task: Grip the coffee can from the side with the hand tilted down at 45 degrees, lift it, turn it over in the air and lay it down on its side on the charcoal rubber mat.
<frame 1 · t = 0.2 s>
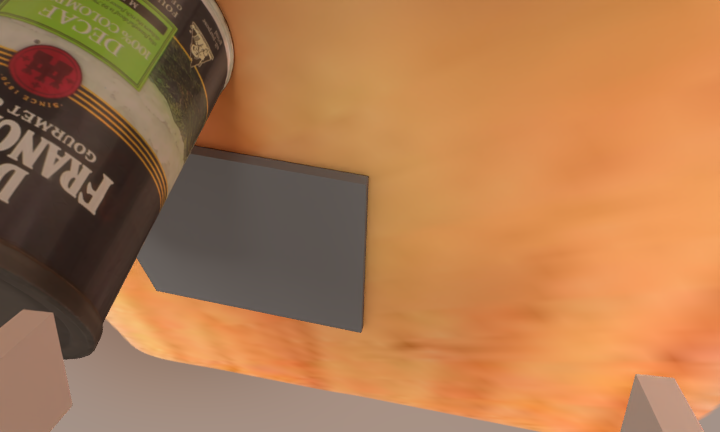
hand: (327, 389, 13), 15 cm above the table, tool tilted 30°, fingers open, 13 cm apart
coffee can: (127, 20, 27), on the table
rubber mat: (240, 242, 41), on the table
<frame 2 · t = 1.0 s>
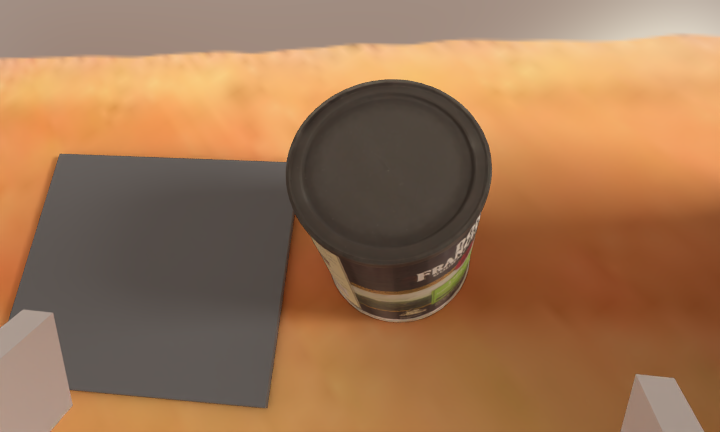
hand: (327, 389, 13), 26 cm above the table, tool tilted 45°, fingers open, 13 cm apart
coffee can: (398, 252, 42), on the table
rubber mat: (155, 269, 43), on the table
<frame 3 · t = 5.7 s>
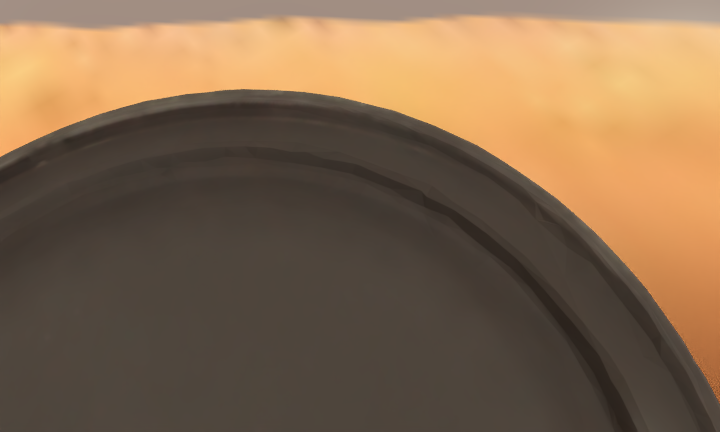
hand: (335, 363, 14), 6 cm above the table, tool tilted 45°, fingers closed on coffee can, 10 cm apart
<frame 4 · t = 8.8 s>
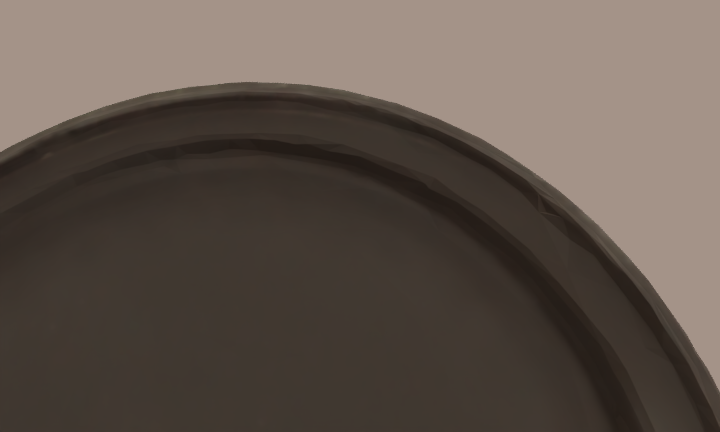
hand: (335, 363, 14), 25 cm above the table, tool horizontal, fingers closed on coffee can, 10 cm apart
when the fingers open (11 cm above the table, at t = 11.9 s): coffee can moves 4 cm, resting on hand, rubber mat.
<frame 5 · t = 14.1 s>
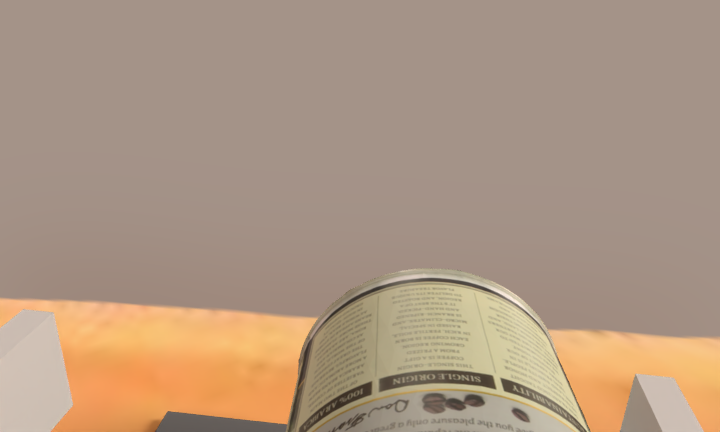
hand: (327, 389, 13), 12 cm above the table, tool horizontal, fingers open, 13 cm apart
coffee can: (426, 375, 23), point 6 cm above the table, touching rubber mat
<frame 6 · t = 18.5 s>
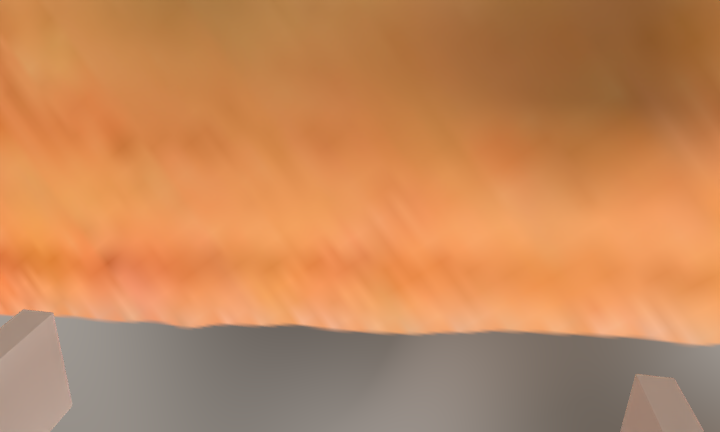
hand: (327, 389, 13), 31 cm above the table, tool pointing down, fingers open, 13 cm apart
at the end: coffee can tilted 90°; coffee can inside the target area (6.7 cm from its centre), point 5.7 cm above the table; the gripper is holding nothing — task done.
